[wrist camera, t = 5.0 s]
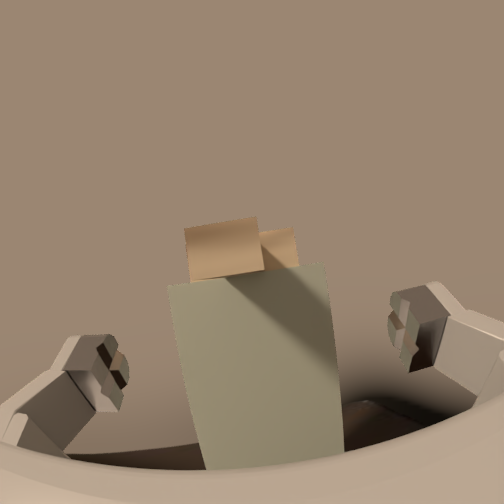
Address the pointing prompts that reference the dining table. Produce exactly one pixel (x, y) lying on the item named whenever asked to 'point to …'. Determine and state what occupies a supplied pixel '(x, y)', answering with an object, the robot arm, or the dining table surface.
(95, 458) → the dining table surface
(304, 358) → the shelf block
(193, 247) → the wooden paddle
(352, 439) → the dining table surface
